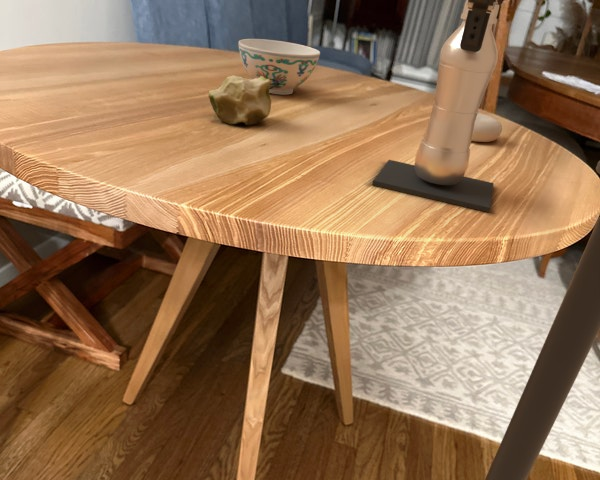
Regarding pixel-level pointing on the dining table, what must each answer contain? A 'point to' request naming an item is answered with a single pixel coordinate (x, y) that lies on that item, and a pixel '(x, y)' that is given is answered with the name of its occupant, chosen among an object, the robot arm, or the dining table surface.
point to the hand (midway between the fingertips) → (471, 47)
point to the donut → (486, 128)
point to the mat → (435, 187)
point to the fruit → (242, 100)
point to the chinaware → (278, 62)
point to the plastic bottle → (456, 106)
